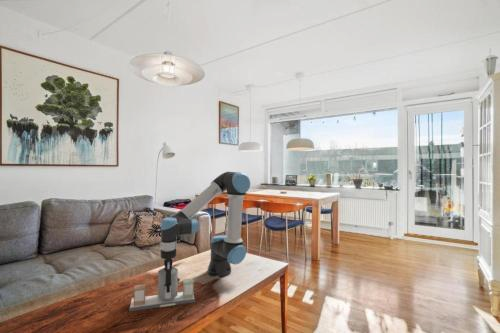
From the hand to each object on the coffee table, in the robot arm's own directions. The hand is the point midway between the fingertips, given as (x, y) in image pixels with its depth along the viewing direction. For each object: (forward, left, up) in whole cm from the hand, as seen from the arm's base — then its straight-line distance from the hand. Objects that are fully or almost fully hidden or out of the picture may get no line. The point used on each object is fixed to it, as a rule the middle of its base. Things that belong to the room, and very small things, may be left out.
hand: (167, 292), depth 132 cm
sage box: (-10, +1, -3) cm, 10 cm away
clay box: (+13, +1, -3) cm, 13 cm away
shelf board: (+2, +1, -4) cm, 4 cm away
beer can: (0, 0, -1) cm, 1 cm away
